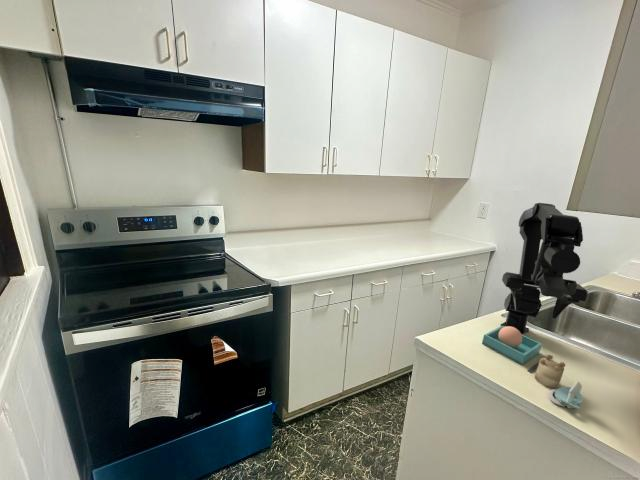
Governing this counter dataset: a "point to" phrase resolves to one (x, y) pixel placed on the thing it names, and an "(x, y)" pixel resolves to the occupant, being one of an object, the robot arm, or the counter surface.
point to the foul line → (535, 367)
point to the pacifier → (567, 395)
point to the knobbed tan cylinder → (549, 372)
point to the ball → (510, 336)
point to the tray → (518, 353)
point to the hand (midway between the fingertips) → (534, 314)
